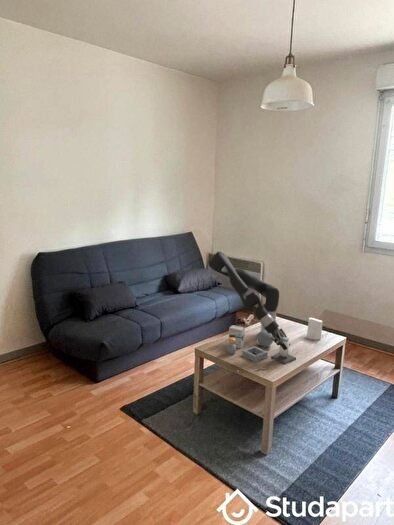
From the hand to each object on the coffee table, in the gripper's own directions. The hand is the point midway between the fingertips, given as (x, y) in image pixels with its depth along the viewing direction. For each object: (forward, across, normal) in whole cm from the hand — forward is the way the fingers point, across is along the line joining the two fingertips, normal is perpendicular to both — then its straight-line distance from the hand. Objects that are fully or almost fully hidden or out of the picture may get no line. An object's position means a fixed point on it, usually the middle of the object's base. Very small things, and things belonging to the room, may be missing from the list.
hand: (287, 347), depth 220 cm
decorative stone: (-7, -11, -17) cm, 21 cm away
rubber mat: (+4, 0, -6) cm, 7 cm away
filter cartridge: (+2, 0, -5) cm, 5 cm away
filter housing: (-10, +7, -20) cm, 24 cm away
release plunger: (-21, +10, -22) cm, 32 cm away
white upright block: (+9, -43, -1) cm, 44 cm away
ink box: (-17, -1, -28) cm, 33 cm away
